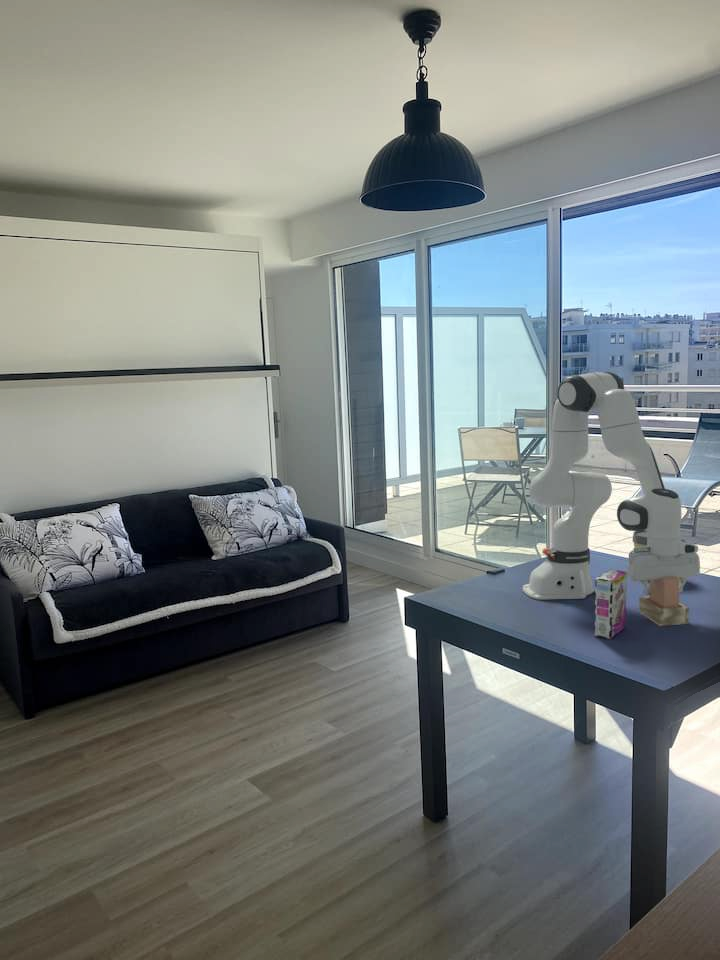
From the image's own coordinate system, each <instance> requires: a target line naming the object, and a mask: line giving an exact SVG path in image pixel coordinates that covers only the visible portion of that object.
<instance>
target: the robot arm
mask: <svg viewBox="0 0 720 960" xmlns="http://www.w3.org/2000/svg"><path fill="white" fill-rule="evenodd" d="M556 392H557V394H556V395H557V399H556V400H555V403H554V407H553V412H552V421H551V424H552V425H551V431H552V432H551V435H552V436H551V451H550V457H549V458H548V461H547V463H546V465H545V466H544V468H543V469H542V470H541V471H540V472H539V473H538V474H537V475H535V476H534V477H533V478H532V479H531V482H530V483H529V486H528V487H529V488H528V493H529V497H530V499H531V500H532V502H533V503H534V505H536V506H539V507H545V508H566V507H568V508H569V507H570V510H569V512H568V513H566V515H564V516H562V517H560V518H559V519H557V520H556V522H554V523H553V526H552V547H551V549H548V548H546V547H545V548H543V549H542V551H541V552H542V554H543V555H545V556H547V558H546V560H544V561H543V562H542V563H541V564H540V565H537V566H536V568H534V569H533V570H532V571H531V572H530V577H529V583H527V584H524V585H522V592H523V593H524V594H525V595H526V596H527V597H530V598H532V599H534V600H573V599H574V600H578V599H579V600H581V599H585V598H587V596H588V595H592V593H594V592H595V589H594V586H593V583H592V580H591V571H590V563H591V552H590V548H589V535H590V534H589V533H590V525H591V522H592V519H593V517H594V515H595V513H596V512H598V510H599V509H600V508H601V507H602V506H604V504H605V503H607V502H608V501H609V500H610V498H611V496H612V491H613V486H612V482H611V481H610V478H609V477H608V476H607V474H605V473H601V472H595V471H576V472H570V470H571V468H572V466H573V465H574V464H575V463H578V462H580V461H581V460H583V459H584V458H585V457H586V456H587V454H588V452H589V416H590V413H591V412H592V411H593V412H594V413H595V414H596V415H597V417H598V421H599V427H600V433H601V438H602V441H603V444H604V447H605V449H606V450H607V451H608V452H609V453H610V454H612V455H613V456H615V457H617V458H620V459H622V460H625V461H627V462H628V463H630V464H631V465H632V466H633V467H634V469H635V471H636V474H637V477H638V480H639V483H640V486H641V490H642V495H640V496H635V497H630V498H628V499H625V500H623V501H621V502H620V503H619V505H618V507H617V510H616V517H617V521H618V523H619V525H620V526H621V527H622V528H623V529H624V530H626V531H629V532H635V531H642V530H644V531H646V532H647V548H640V549H638V548H636V549H633V548H632V550H631V551H630V552H629V553H628V566H627V577H628V579H630V580H632V581H633V582H639V583H640V585H641V586H642V588H643V594H644V596H650V595H651V589H650V586H648V584H649V581H650V580H658V579H660V578H662V577H674V576H675V577H677V578H679V593H683V591H684V590H683V589H684V586H685V585H686V584H687V583H686V582H687V581H688V578H693V577H698V575H699V574H700V572H701V561H700V556H699V554H698V552H699V546H698V545H696V544H695V543H693V542H690V541H687V540H684V539H682V533H681V524H682V503H681V502H682V501H681V497H680V496H679V494H678V493H677V492H676V491H674V490H672V489H667V488H666V487H665V485H664V482H663V479H662V475H661V472H660V469H659V465H658V463H657V459H656V456H655V454H654V451H653V449H652V447H651V446H650V444H649V443H648V441H647V440H646V437H645V435H644V432H643V430H642V425H641V421H640V416H639V412H638V409H637V406H636V403H635V399H633V397H632V394H631V393H630V392H629V391H628V390H626V389H625V385H624V381H623V380H622V378H621V377H620V376H619V375H618V374H616V373H614V372H610V371H601V372H600V371H596V372H588V373H582V374H574V375H571V376H567V377H566V378H564V379H562V380H561V381H560V383H559V385H558V387H557V391H556Z"/></svg>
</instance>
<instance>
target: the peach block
mask: <svg viewBox="0 0 720 960" xmlns="http://www.w3.org/2000/svg"><path fill="white" fill-rule="evenodd" d="M679 580H680V579H679V578H677V577H675V576H674V577H662V578H660V579H658V580H649V588H650V589H651V595H649V596H650V598H649V601H650V602H651V603H653V604H655V605H656V606H658V607H659V608H661V609H667V608H678V607H679V603H680V592H679Z"/></svg>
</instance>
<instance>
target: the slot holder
mask: <svg viewBox="0 0 720 960" xmlns="http://www.w3.org/2000/svg"><path fill="white" fill-rule="evenodd" d="M649 598H650V595H648V596H640V597H639V598H638V599H639V601H638V607H639V608H638V612H639V613H640V614H641V615H643V617H646V618H647V619H649V620H650V621H652V622H653V623H655V624H656V625H658V626H659V627H664V626H667V627H668V626H676V625H677V626H678V625H687V624H689V623H690V622H689V621H690V620H689V619H690V618H689V616H690V615H689V613H690V608H689V607H688V606H686V605H684V604H683V603H681V602H679V607H678V608H667V609H661V608H659V607H658V606H656V605H655V604H653V603H651V602H650V601H649Z"/></svg>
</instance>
